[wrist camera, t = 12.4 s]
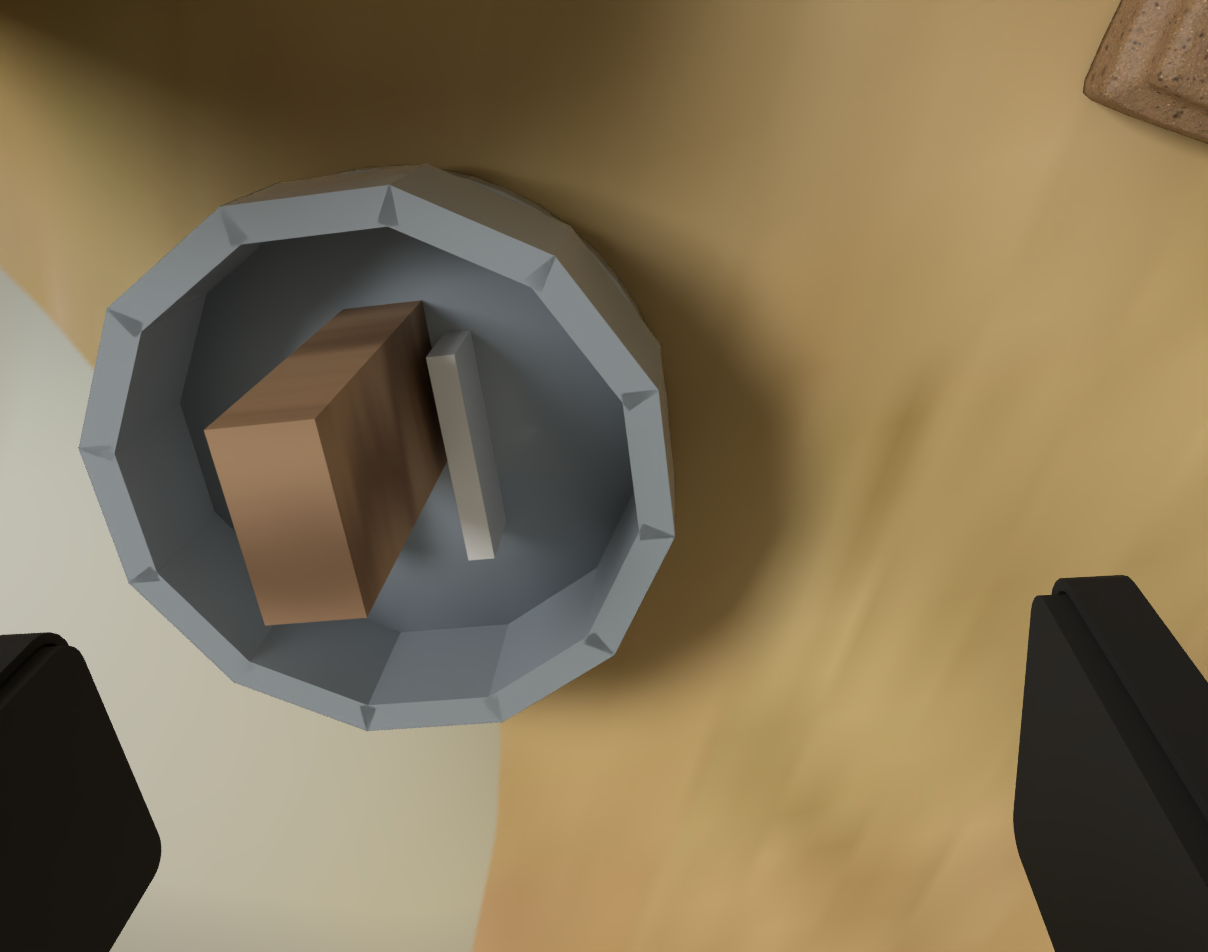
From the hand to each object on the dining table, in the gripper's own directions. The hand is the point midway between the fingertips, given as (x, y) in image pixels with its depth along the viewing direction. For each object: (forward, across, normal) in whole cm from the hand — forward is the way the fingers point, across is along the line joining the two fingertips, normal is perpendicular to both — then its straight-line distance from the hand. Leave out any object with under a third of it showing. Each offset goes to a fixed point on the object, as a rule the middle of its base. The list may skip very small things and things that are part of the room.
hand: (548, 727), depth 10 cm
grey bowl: (+28, +10, +8) cm, 31 cm away
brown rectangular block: (+27, +10, +6) cm, 29 cm away
